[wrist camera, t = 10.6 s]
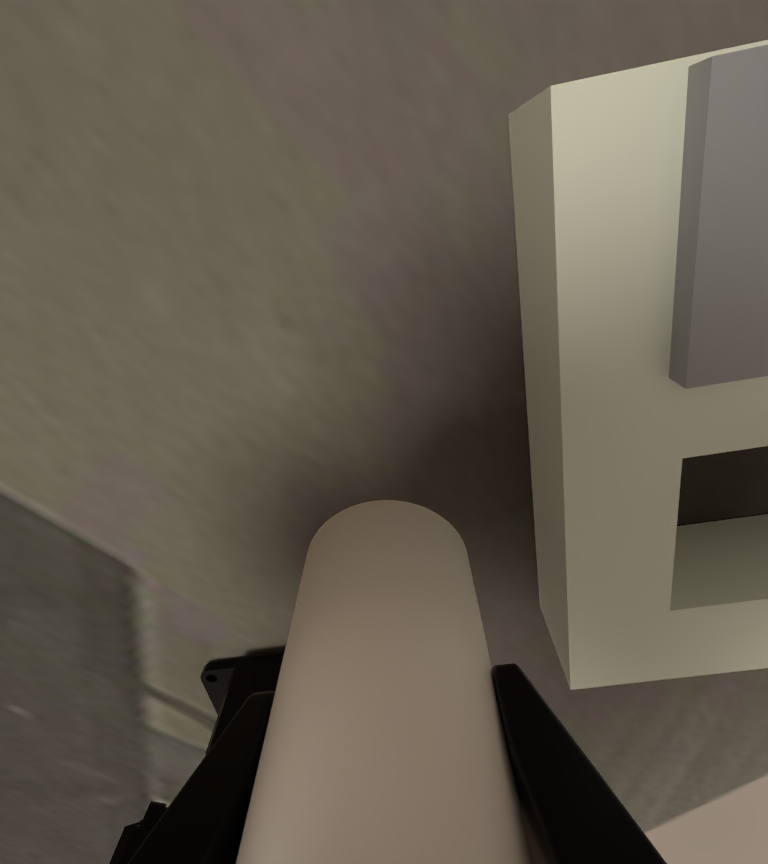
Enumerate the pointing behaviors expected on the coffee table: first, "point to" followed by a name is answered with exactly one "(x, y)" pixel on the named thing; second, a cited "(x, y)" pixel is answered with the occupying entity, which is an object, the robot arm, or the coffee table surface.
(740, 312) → the shutter
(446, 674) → the plug
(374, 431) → the coffee table surface
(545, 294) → the socket block
